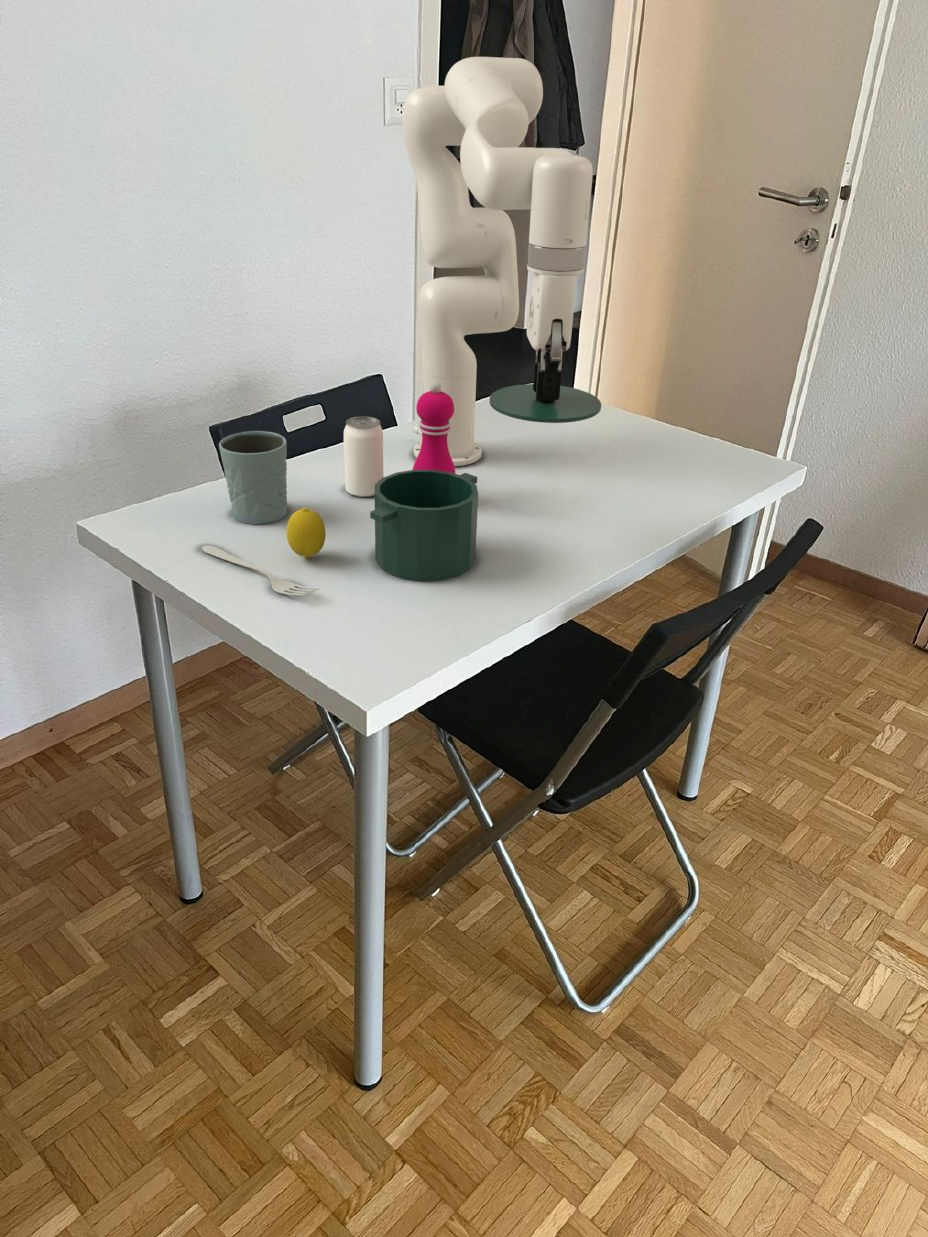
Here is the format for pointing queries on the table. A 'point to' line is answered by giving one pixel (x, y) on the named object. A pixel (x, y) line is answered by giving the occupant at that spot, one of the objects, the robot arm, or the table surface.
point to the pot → (425, 524)
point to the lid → (545, 404)
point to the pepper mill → (434, 430)
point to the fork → (277, 583)
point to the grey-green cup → (256, 475)
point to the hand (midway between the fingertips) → (545, 394)
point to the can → (363, 455)
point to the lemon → (306, 532)
